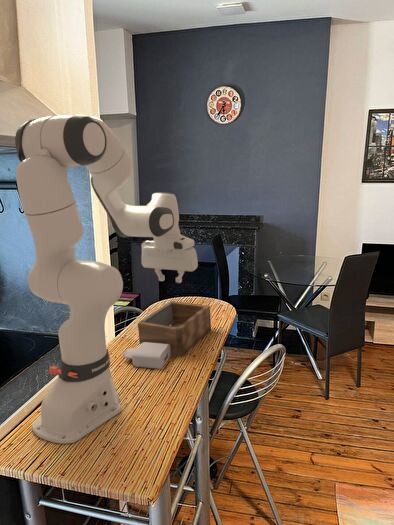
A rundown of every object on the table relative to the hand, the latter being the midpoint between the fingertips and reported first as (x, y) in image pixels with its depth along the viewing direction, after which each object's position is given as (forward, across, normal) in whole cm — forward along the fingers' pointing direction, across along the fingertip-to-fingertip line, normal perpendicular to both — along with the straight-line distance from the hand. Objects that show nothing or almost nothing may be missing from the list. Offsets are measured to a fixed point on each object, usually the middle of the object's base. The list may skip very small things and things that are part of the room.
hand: (170, 281), depth 136 cm
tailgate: (+20, -6, 0) cm, 21 cm away
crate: (+21, +1, 0) cm, 21 cm away
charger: (+22, -1, -17) cm, 28 cm away
